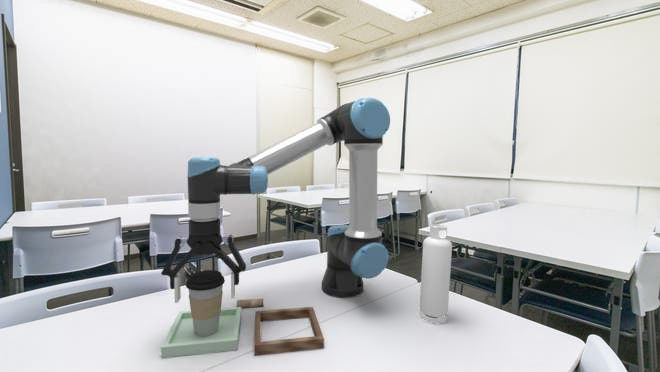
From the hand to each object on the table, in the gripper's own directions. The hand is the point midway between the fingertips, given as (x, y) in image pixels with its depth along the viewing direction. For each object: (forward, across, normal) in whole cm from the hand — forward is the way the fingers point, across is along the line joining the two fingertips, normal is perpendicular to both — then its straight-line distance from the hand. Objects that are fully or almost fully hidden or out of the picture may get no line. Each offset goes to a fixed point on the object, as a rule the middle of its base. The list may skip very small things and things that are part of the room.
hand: (205, 298), depth 83 cm
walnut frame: (+10, -21, +3) cm, 23 cm away
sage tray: (+10, 0, 0) cm, 10 cm away
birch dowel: (+9, -11, -13) cm, 19 cm away
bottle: (+10, -65, +2) cm, 66 cm away
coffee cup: (+9, 0, 0) cm, 9 cm away
